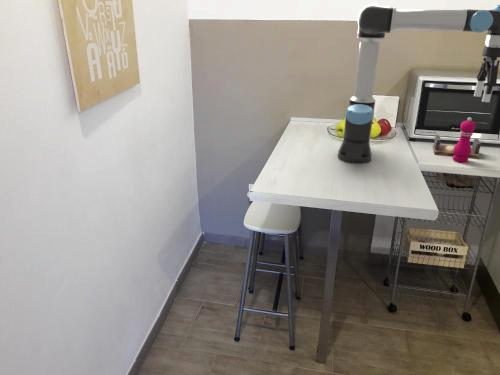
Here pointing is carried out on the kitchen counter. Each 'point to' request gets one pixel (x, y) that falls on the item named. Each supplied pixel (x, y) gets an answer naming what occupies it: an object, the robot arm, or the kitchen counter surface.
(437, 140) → the level stand
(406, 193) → the kitchen counter surface
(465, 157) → the pepper mill
